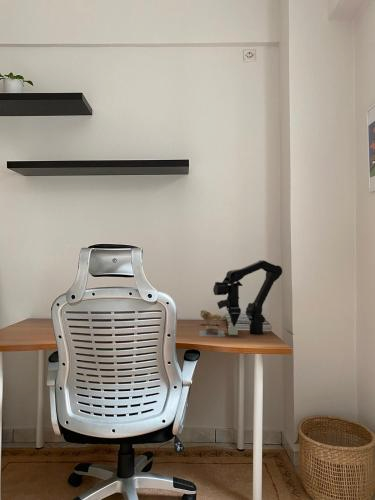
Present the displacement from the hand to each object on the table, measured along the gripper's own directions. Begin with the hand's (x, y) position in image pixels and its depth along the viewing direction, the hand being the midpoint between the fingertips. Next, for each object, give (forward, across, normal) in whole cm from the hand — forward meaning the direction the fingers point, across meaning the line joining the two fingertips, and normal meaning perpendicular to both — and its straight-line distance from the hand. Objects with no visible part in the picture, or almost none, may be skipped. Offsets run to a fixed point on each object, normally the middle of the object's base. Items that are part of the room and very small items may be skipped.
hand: (233, 324), depth 201 cm
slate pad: (+5, 0, -11) cm, 12 cm away
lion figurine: (+6, -27, -11) cm, 29 cm away
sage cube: (+6, 0, 0) cm, 6 cm away
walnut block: (+5, 0, -11) cm, 12 cm away
